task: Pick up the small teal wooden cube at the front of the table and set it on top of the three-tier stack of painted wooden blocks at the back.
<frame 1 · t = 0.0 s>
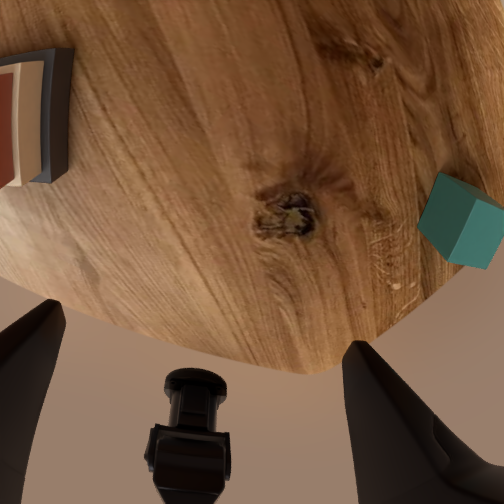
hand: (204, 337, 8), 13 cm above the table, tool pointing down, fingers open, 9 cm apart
stack: (22, 112, 16), on the table
toy cube: (448, 206, 21), on the table
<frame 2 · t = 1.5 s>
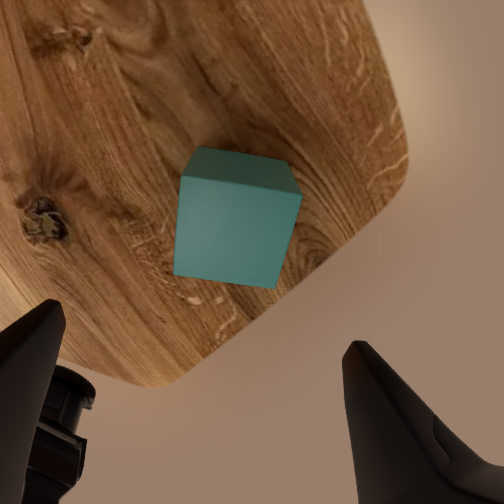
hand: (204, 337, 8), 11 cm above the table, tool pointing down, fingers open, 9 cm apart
toy cube: (234, 194, 17), on the table
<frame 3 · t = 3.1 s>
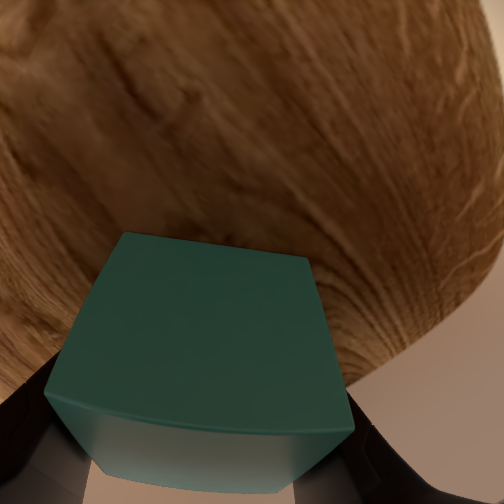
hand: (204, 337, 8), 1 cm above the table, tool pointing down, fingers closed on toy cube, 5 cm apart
toy cube: (206, 312, 9), on the table, touching gripper
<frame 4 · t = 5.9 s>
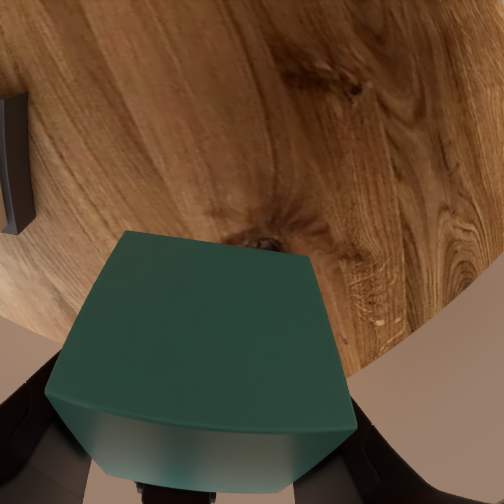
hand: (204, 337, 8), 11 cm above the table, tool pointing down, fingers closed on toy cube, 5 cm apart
toy cube: (207, 311, 9), point 10 cm above the table, touching gripper
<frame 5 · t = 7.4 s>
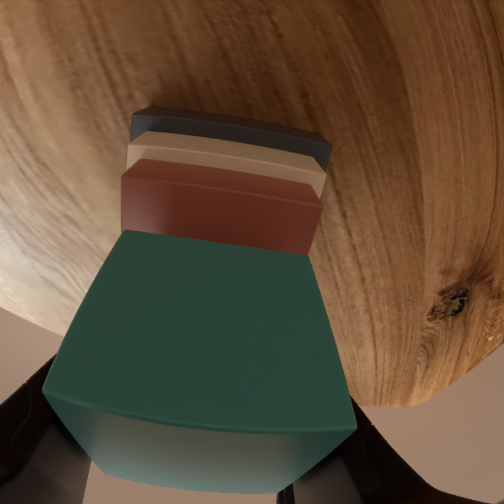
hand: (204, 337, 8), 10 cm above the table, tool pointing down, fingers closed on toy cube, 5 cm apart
stack: (220, 196, 17), on the table
toy cube: (206, 310, 9), point 9 cm above the table, touching gripper
when the fingers open (8 cm above the table, at t = 8.5 s): toy cube stays where it is, resting on stack.
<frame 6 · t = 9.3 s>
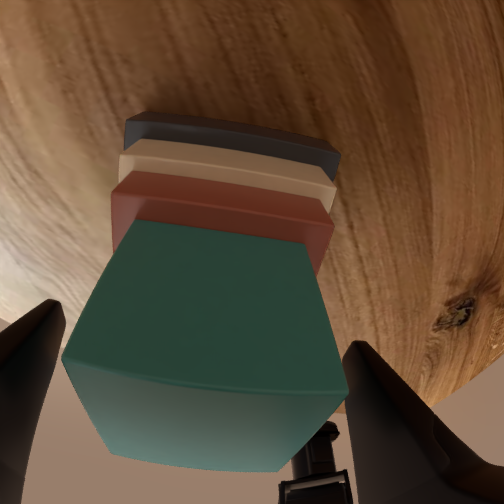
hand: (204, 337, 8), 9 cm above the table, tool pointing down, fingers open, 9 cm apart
stack: (220, 207, 16), on the table
toy cube: (209, 296, 10), point 7 cm above the table, touching stack
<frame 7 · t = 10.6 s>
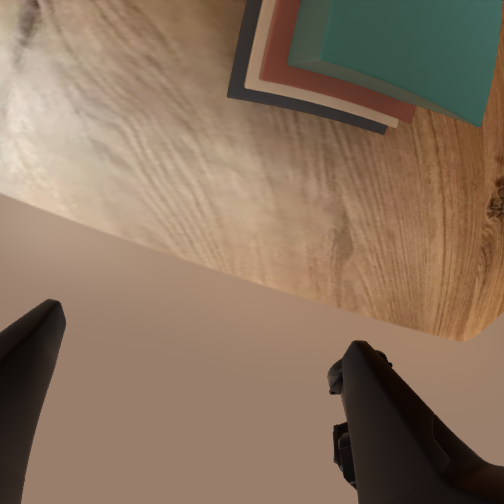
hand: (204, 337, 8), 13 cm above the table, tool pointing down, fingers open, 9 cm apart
stack: (318, 41, 15), on the table
toy cube: (361, 26, 9), point 7 cm above the table, touching stack
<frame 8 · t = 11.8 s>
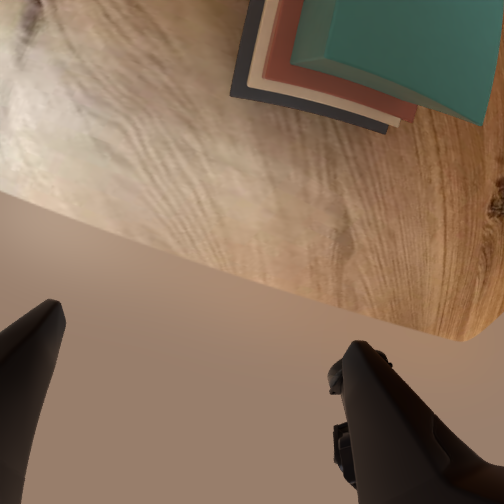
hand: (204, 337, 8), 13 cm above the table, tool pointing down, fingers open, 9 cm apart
stack: (320, 41, 15), on the table
toy cube: (364, 26, 9), point 7 cm above the table, touching stack
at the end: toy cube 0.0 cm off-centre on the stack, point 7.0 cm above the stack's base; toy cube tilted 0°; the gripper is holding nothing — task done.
